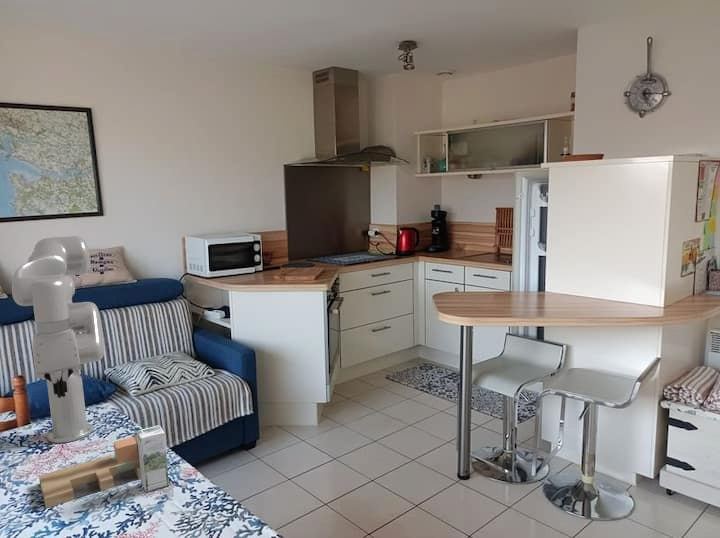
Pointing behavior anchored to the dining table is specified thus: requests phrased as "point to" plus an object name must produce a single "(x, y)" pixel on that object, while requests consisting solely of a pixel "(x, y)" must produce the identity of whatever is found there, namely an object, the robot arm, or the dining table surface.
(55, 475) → the board
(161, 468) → the syrup box
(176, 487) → the dining table surface
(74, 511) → the dining table surface
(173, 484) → the dining table surface
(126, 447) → the orange block
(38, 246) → the robot arm
